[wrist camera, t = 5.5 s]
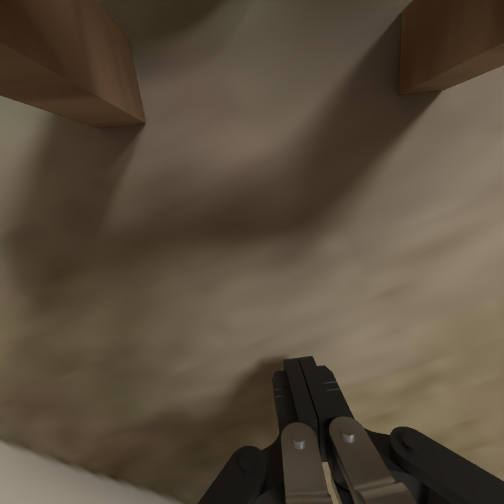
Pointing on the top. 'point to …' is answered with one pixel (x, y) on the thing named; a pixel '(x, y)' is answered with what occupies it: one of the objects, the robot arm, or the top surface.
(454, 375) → the top surface
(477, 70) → the bridge
